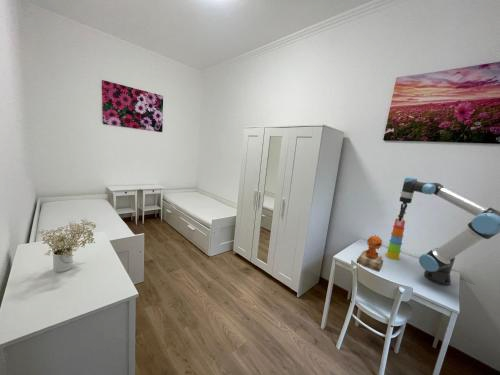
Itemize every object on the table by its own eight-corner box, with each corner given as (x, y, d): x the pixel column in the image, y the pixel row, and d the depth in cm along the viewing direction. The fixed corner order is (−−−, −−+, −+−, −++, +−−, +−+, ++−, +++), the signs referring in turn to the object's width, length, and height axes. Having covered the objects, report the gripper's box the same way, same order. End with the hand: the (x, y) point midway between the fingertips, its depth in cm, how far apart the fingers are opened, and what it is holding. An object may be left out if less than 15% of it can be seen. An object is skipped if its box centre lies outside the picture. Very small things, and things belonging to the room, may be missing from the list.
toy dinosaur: (381, 261, 166) (386, 239, 162) (366, 258, 168) (371, 237, 164) (376, 254, 176) (381, 234, 173) (362, 251, 178) (366, 231, 175)
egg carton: (382, 263, 174) (384, 257, 173) (379, 271, 162) (380, 264, 161) (361, 256, 184) (362, 249, 183) (356, 262, 172) (357, 256, 170)
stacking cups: (400, 261, 181) (410, 222, 174) (386, 257, 185) (395, 219, 178) (398, 255, 190) (407, 219, 183) (384, 252, 195) (393, 216, 187)
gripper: (402, 194, 178) (395, 218, 182) (398, 198, 159) (392, 225, 163) (413, 196, 173) (406, 220, 178) (411, 200, 154) (403, 228, 159)
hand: (399, 223), depth 170 cm, fingers open, 13 cm apart
